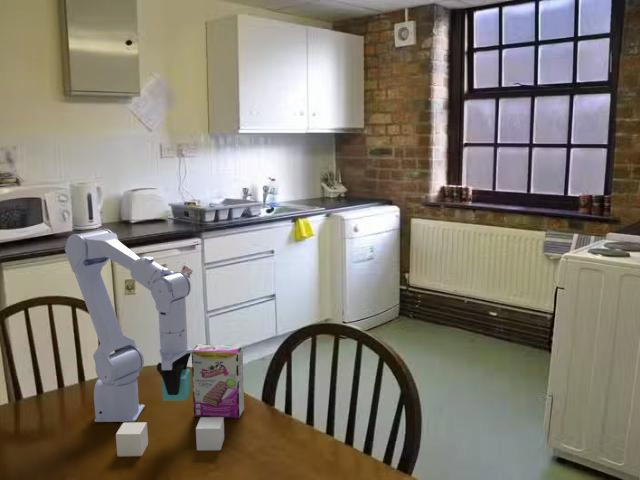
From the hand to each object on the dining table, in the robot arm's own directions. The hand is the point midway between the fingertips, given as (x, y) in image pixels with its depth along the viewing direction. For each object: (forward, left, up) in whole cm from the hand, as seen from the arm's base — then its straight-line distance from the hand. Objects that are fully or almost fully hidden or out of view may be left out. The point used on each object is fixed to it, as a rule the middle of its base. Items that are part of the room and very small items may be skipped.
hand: (176, 388), depth 131 cm
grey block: (+8, -5, -10) cm, 14 cm away
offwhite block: (-8, -7, -10) cm, 15 cm away
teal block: (0, 0, -2) cm, 2 cm away
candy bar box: (+8, +9, -11) cm, 16 cm away
